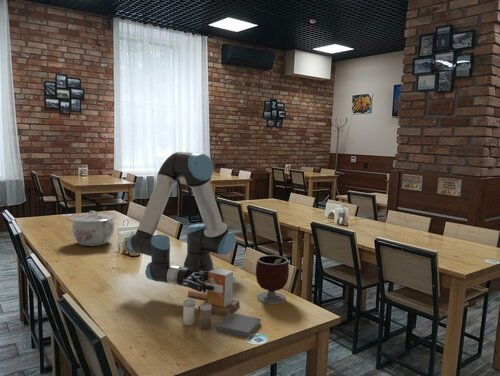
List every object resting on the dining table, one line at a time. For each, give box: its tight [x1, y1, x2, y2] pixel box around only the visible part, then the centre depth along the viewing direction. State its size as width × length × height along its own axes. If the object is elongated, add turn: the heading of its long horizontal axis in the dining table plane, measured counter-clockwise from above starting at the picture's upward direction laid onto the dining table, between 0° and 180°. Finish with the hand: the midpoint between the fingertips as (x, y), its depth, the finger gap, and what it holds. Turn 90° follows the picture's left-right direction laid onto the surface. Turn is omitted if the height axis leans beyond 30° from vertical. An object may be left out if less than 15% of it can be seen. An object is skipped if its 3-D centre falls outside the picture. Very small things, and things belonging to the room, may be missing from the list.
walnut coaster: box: [198, 298, 240, 318], centre depth 167 cm, size 12×12×2 cm
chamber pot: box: [68, 210, 118, 247], centre depth 257 cm, size 28×28×21 cm
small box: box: [206, 267, 234, 307], centre depth 166 cm, size 8×6×13 cm
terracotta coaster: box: [187, 282, 208, 300], centre depth 183 cm, size 12×12×2 cm
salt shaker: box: [182, 298, 196, 327], centre depth 153 cm, size 4×4×8 cm
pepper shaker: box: [199, 302, 212, 331], centre depth 150 cm, size 4×4×8 cm
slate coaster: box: [216, 312, 262, 339], centre depth 151 cm, size 12×12×2 cm
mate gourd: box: [255, 254, 290, 305], centre depth 177 cm, size 16×14×20 cm
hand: (228, 284), depth 164 cm, fingers open, 11 cm apart
